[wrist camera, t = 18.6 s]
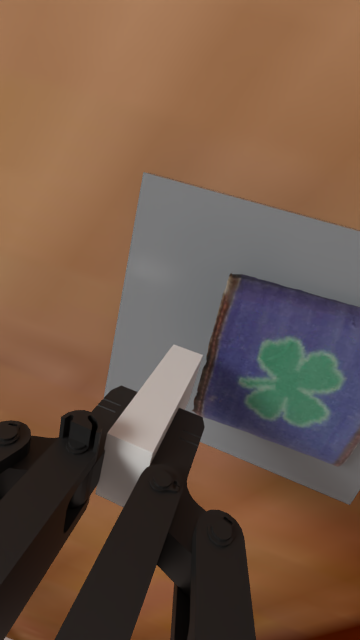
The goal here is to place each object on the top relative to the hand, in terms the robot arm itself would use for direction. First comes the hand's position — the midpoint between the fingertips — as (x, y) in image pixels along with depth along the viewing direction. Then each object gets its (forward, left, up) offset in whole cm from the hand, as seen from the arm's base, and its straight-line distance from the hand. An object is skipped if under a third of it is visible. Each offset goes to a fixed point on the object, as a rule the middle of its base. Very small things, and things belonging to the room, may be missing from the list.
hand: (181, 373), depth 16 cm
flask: (0, 0, -4) cm, 4 cm away
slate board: (+3, 0, -6) cm, 7 cm away
